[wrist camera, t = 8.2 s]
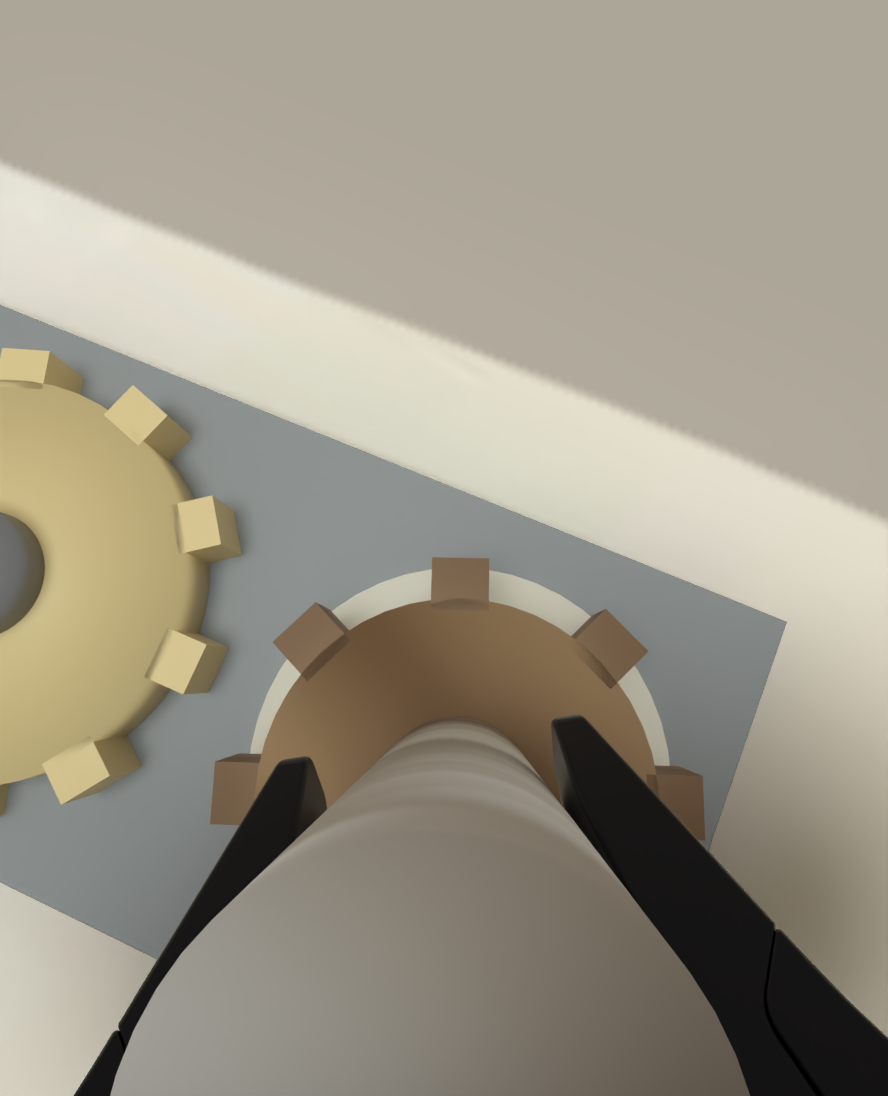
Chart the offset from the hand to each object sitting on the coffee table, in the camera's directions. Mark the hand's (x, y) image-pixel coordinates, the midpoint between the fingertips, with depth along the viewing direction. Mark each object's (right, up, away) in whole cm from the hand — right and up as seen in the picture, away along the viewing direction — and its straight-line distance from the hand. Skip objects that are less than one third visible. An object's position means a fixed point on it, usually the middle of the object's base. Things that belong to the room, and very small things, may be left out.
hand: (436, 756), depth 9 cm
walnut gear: (0, -3, +6) cm, 7 cm away
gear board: (-5, -1, +10) cm, 11 cm away
